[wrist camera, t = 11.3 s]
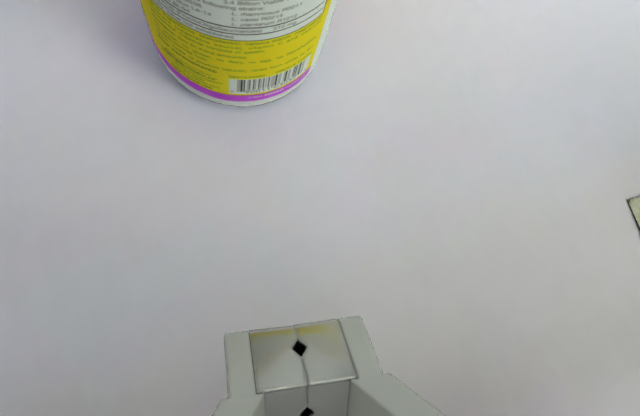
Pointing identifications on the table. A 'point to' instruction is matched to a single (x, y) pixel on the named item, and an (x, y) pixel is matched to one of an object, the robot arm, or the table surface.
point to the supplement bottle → (239, 45)
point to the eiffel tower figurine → (635, 208)
